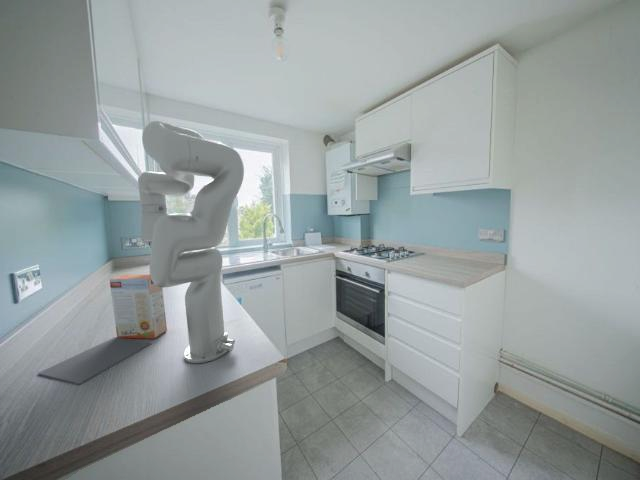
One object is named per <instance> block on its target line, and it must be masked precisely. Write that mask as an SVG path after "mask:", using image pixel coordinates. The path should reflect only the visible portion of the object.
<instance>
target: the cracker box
mask: <svg viewBox="0 0 640 480" xmlns="http://www.w3.org/2000/svg"><path fill="white" fill-rule="evenodd" d="M109 286H110V292H111V300H112V307H113V308H112V309H113V314H114V321H115V322H114V323H115V329H116V337H118V338H125V339H148V340H149V339H151V340H152V339H156V338H158V337H159V336H161V335H162V334H164V333H166V332H167V331H168V328H167V319H166V318H167V317H166V309H165V308H166V307H165V299H164V292H163V287H158V286H156V285H155V284H154V283H153V282H152V280H151V277H150V274H123V275H118V276H116V277H112V278H109Z"/></svg>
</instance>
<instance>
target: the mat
mask: <svg viewBox="0 0 640 480" xmlns="http://www.w3.org/2000/svg"><path fill="white" fill-rule="evenodd" d="M152 344H153V343H152V342H149V341H143V340H137V339H132V338H118V337H117V336H114V337H112V338H110V339H108V340H106V341H104V342H101V343H99V344H97V345H95V346H93V347H91V348H89V349H86V350H84V351H83V352H80V353H78V354H76V355H74V356H71V357H70V358H69V357H68V359H67V358H66V359H65V360H63V361H61V362H59V363H56V364H54V365H52V366H50V367H48V368H46V369H44V370H42V371H39V372H37V375H38V376H42V377H47V378H50V379H51V378H52V379H54V380H59V381H64V382H67V383H71V384H75V385H81V384H83V383H85V382H87V381H89V380H91V379H92V378H94V377H96V376H98V375H99V374H101V373H103V372H104V371H107V370H108V369H110V368H112V367H114V366H115V365H117V364H119V363H120V362H122V361H124V360H126V359H127V358H130V357H132V356H133V355H135V354H136V353H139V352H140V351H142V350H143V349H145V348H147V347H149V346H150V345H152Z"/></svg>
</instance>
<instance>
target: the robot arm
mask: <svg viewBox="0 0 640 480" xmlns="http://www.w3.org/2000/svg"><path fill="white" fill-rule="evenodd" d="M141 141H142V146H143V149H144V150H145V153H147V155H148V156H149V157H150V158H151V159H152V160H153V161H155V162H156V163H157V164H158V165H159V167H160V170H161V171H162V172H157V171H156V172H155V171H144V172H142V173H140V175H139V176H138V177H137V178H138V179H137V184H138V194H139V202H140V210H141V211H140V212H141V217H140V230H141V232H140V233H141V238H142V240H143V241H144V243H145V244H146V245H149V246H150V257H149V258H150V259H149V275H150V277H151V280H152V282H153V283H154V284H155V285H156V286H158V287H162V288H170V287H171V288H172V287H175V286H179V285H183V284H188V283H189V286H187V287H188V288H187V289H186V291H185V295H184V303H185V315H186V324H187V327H186V328H187V337H188V347H186V348H185V350H184V352H183V358H184V360H185V361H186V362H188V363H191V364H202V363H207V362H212V361H215V360H217V359H218V358H221V357H222V356H224V355H225V354H226V353H227V352H232V351H233V350H234V346H235V343H236V341H235V340H236V339H231V338H229V335H228V332H225V325H224V324H225V323H224V310H223V300H222V299H223V298H222V295H223V294H222V271H223V270H222V269H223V256H222V253H221V251H220V250H219V249H218V248H216V247H218V246H220V245H221V243H222V242H223V240H224V238H225V235H226V234H225V233H226V232H227V231H226V230H227V227H228V224H229V219H230V215H231V211H232V208H233V204H234V201H235V199H236V197H237V195H238V193H239V191H240V189H241V188H242V184H243V180H244V177H245V176H244V175H245V167H244V162H243V159H242V156H241V155H240V153H239V152H238V151H237V150H236V149H234V148H233V147H230V146H228V145H227V144H224V143H220V142H216V141H212V140H209V139H206V138H205V137H204V136H203V135H202V134H201V133H199V132H197V131H195V130H193V129H191V128H186V127H181V126H178V125H175V124H171V123H167V122H164V121H159V120H154V121H151V122H149V123H147V125H145V127H144V129H143V130H142V136H141ZM195 176H196V177H197V176H199V177H208V178H211V180H210V181H208V182H207V183H205V184H204V185H203V187H201V188H200V190H199V191H198V192H197V194H196V195H195V197H194V198H195V199H194V205H193V208H192V210H191V211H190V212H188V213H187V212H183V213H182V212H181V213H177V212H176V213H168V211H167V209H168V208H167V202H166V196H174V197H175V196H176V197H181V196H182V197H183V196H185V195H187V194H188V193H190V191H192V190H193V188H194V186H195V181H196V177H195Z"/></svg>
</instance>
